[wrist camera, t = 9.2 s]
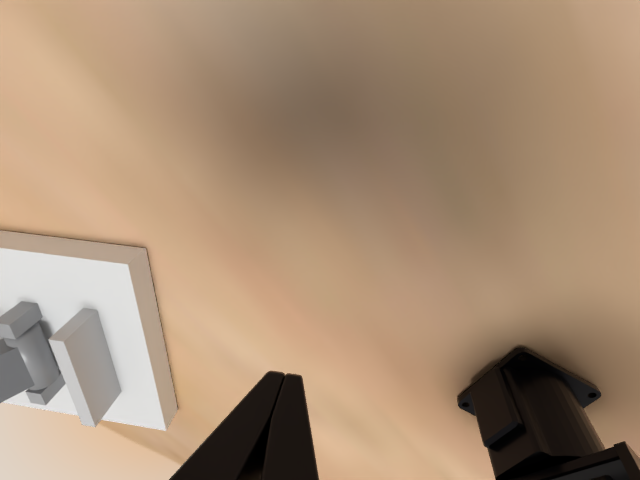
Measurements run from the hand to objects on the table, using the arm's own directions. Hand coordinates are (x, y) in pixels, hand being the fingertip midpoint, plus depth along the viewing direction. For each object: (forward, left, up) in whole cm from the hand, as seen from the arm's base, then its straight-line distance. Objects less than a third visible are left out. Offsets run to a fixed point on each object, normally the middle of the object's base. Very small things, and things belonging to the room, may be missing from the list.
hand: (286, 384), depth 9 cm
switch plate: (+13, +20, -13) cm, 27 cm away
